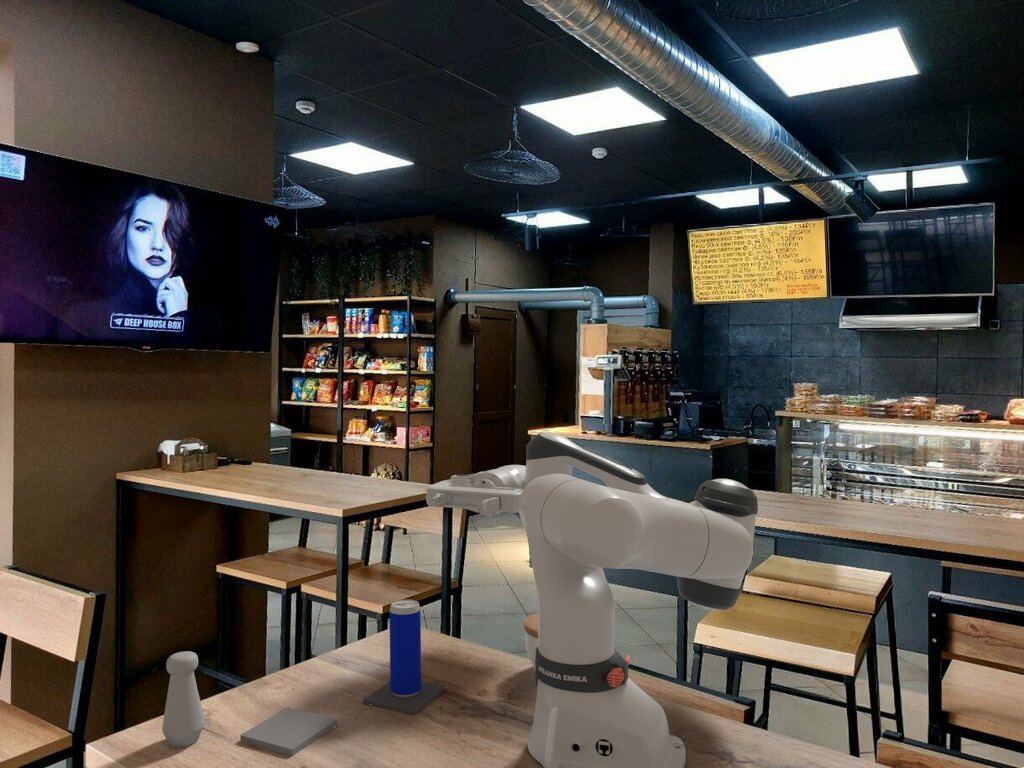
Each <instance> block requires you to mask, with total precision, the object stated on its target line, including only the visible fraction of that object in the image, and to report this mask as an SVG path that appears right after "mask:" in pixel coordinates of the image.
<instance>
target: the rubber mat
mask: <svg viewBox="0 0 1024 768" xmlns="http://www.w3.org/2000/svg"><path fill="white" fill-rule="evenodd" d="M446 690H447V687H446V685H441V684H436V683H432V682H431V683H430V682H427V681H426V682H425V681H422V680H421V689H420V691H419V693H418V694H416V695H415V696H412V697H407V698H401V697H396V696H395V695H393V693H392V692H391V690H390V680H389V681H388V682H387V683H385V684H383V686H381V687H379V688H378V689H376V690H375V691H373V692H372V693H370V694H369V695H367V696H366V697H364V698H363V699H362V704H364V703H367V704H366V705H368V704H372V705H371V706H373V705H376V706H375V707H378V706H379V708H382V707H383V709H387V708H388V709H387V710H392V711H397V712H400V711H401V712H400V713H405V712H406V713H405V714H409V713H410V714H409V715H416V714H418V713H419V712H420V711H421V710H423V709H424V708H425V707H426V706H428V705H429V704H430V703H431V702H433V701H434V700H435V699H436V698H437V697H439V696H440V695H442V694H443V693H444V692H445V691H446ZM443 691H444V692H443ZM442 692H443V693H442Z"/></svg>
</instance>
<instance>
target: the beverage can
mask: <svg viewBox="0 0 1024 768" xmlns="http://www.w3.org/2000/svg"><path fill="white" fill-rule="evenodd" d="M421 619H422V617H421V607H420V603H419V601H417V600H415V599H399V600H396V601H393V602H392V603H391V604H390V607H389V670H390V671H389V672H390V673H389V674H390V675H389V679H390V680H389V681H390V690H391V692H392V693H393V695H395V696H396V697H401V698H407V697H412V696H415V695H416V694H418V693H419V691H420V689H421V681H422V658H421V657H422V644H421V643H422V640H421V639H422V638H421V637H422V636H421V635H422V633H421V632H422V631H421V630H422V629H421V628H422V627H421V625H422V624H421V623H422V622H421Z"/></svg>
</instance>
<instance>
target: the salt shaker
mask: <svg viewBox="0 0 1024 768" xmlns="http://www.w3.org/2000/svg"><path fill="white" fill-rule="evenodd" d="M165 664H166V665H165V666H166V667H165V669H166V671H167V673H168V674H170V677H169V683H168V688H167V695H166V702H165V707H164V713H163V714H164V715H163V721H162V726H161V729H162V734H163V736H164V737H165V739H166V741H167V744H168V745H170V746H171V747H172V748H173V749H175V748H176V749H177V748H187V747H190V746H191V745H193V744H195V743H197V742H198V741H199V739H200V735H201V733H202V731H203V728H204V727H205V724H206V723H205V722H206V719H205V715H204V711H203V706H202V703H201V698H200V695H199V690H198V687H197V686H198V685H197V681H196V677H195V670H196V669H197V668H198V666H199V657H198V654H197V653H196V652H193V651H191V650H189V651H188V650H187V651H178V652H175V653H173V654H171V655H170V656H169V657H168V658H167V660H166V663H165Z"/></svg>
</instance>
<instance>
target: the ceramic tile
mask: <svg viewBox="0 0 1024 768" xmlns="http://www.w3.org/2000/svg"><path fill="white" fill-rule="evenodd" d="M338 721H339V719H338V718H334V717H332V716H331V717H330V716H326V715H322V714H318V713H313V712H310V711H307V710H302V709H298V708H294V707H289V706H286V708H284V709H282V710H280V711H278V712H277V713H275V714H273V715H271V716H270V717H268V718H267V719H265V720H264V721H262V722H260V723H257V725H255V726H253V727H252V728H250V729H248V730H246V731H245V732H243V733H242V734H239V736H240V740H239V741H240V742H241V743H244V744H248V745H251V746H255V747H258V748H262V749H265V750H268V749H269V751H272V752H275V751H276V753H279V754H282V755H283V754H284V755H285V756H286V755H287V756H289V755H290V757H294V756H295V755H296V753H297V754H298V753H300V752H301V751H303V750H304V749H305V748H307V747H308V745H309V746H310V745H311V744H313V743H314V742H316V741H318V740H319V739H320V738H322V737H323V736H325V735H326V734H327V732H328V731H329V730H331V729H332V728H333V727H335V726H336V725H339V724H338V723H339V722H338ZM336 727H337V726H336ZM336 727H335V728H336ZM332 730H333V729H332ZM332 730H331V731H332ZM329 732H330V731H329ZM329 732H328V733H329ZM325 733H326V734H325ZM324 734H325V735H324ZM322 735H323V736H322ZM321 736H322V737H321ZM319 737H320V738H319ZM318 738H319V739H318ZM315 740H316V741H315ZM302 749H303V750H302ZM299 751H300V752H299Z"/></svg>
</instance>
